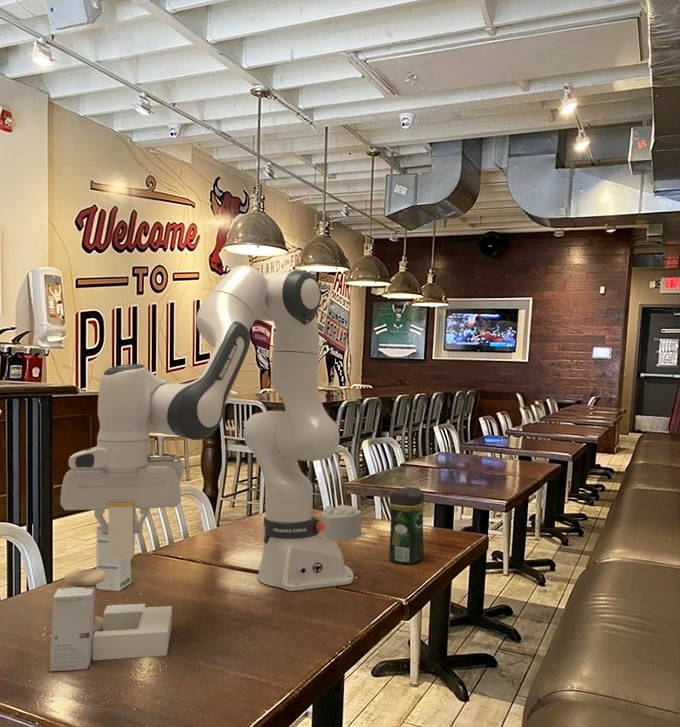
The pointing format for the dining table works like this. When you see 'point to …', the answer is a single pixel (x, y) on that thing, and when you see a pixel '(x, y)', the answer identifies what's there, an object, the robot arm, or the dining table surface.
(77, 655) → the skincare box
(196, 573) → the dining table surface
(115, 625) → the notched board
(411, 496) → the coffee jar
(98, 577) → the spool
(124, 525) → the gold trimmed white carton
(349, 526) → the lumpy-topped squat cylinder
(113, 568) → the syrup box
